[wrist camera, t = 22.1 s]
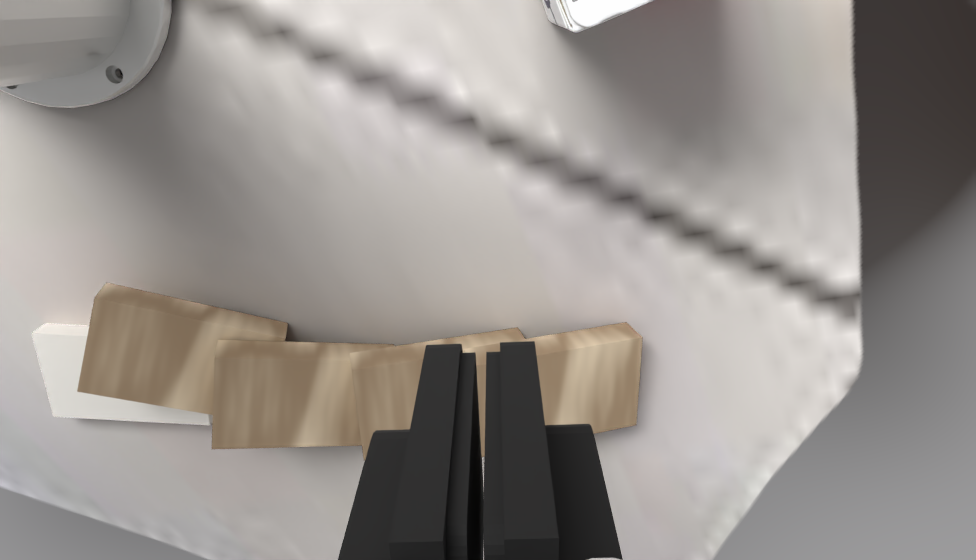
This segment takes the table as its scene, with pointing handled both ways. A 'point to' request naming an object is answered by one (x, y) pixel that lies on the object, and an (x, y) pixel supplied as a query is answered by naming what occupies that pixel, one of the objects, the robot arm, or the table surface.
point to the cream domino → (61, 375)
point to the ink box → (587, 11)
